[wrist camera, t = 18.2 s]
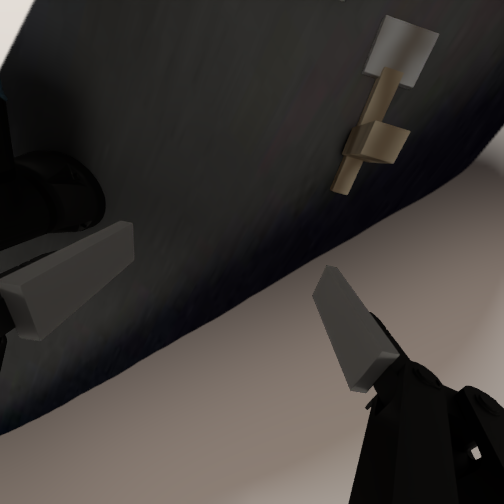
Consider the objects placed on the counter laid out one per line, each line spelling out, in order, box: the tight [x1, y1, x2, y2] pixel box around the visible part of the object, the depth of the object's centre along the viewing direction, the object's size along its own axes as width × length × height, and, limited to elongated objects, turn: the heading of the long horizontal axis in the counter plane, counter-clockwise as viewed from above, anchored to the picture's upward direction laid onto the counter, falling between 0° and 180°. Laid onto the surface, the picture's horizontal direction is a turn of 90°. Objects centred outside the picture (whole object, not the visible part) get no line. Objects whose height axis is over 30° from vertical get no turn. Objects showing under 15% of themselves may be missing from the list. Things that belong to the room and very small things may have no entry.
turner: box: [330, 15, 439, 195], centre depth 29 cm, size 8×23×8 cm, turn 166°
